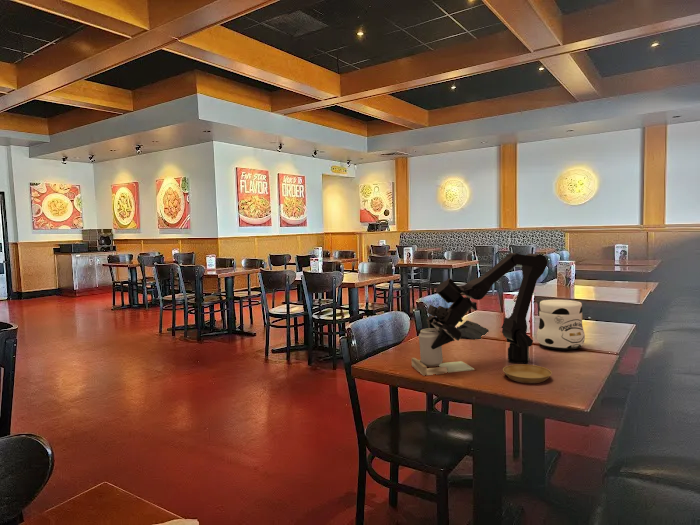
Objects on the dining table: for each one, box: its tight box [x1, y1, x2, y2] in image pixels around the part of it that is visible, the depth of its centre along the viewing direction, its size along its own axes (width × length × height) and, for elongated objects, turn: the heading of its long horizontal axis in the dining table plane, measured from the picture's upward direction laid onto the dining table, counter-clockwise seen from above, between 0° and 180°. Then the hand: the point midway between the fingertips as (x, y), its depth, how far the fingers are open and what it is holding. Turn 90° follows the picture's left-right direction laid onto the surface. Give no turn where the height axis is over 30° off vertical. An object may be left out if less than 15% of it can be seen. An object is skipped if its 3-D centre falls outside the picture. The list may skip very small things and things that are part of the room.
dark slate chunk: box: [456, 320, 489, 340], centre depth 221 cm, size 15×22×5 cm
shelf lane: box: [411, 357, 448, 377], centre depth 168 cm, size 8×12×3 cm
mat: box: [437, 360, 475, 373], centre depth 170 cm, size 10×10×1 cm
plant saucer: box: [502, 363, 553, 384], centre depth 156 cm, size 15×15×3 cm
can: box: [418, 328, 444, 367], centre depth 167 cm, size 8×8×12 cm
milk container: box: [536, 299, 586, 351], centre depth 192 cm, size 17×17×18 cm
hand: (427, 345), depth 167 cm, fingers closed on can, 7 cm apart
